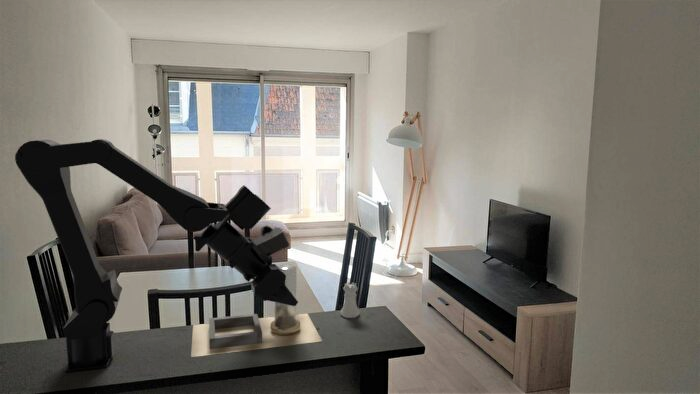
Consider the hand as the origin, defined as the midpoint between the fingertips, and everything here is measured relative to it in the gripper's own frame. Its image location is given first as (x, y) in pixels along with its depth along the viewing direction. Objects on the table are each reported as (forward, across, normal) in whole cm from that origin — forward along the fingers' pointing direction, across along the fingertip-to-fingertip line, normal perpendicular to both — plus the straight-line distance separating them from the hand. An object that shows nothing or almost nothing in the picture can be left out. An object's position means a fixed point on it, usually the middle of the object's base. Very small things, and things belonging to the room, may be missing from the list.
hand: (290, 296), depth 92 cm
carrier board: (+1, 0, +11) cm, 11 cm away
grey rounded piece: (+4, 0, +6) cm, 7 cm away
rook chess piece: (+16, +3, -4) cm, 17 cm away
